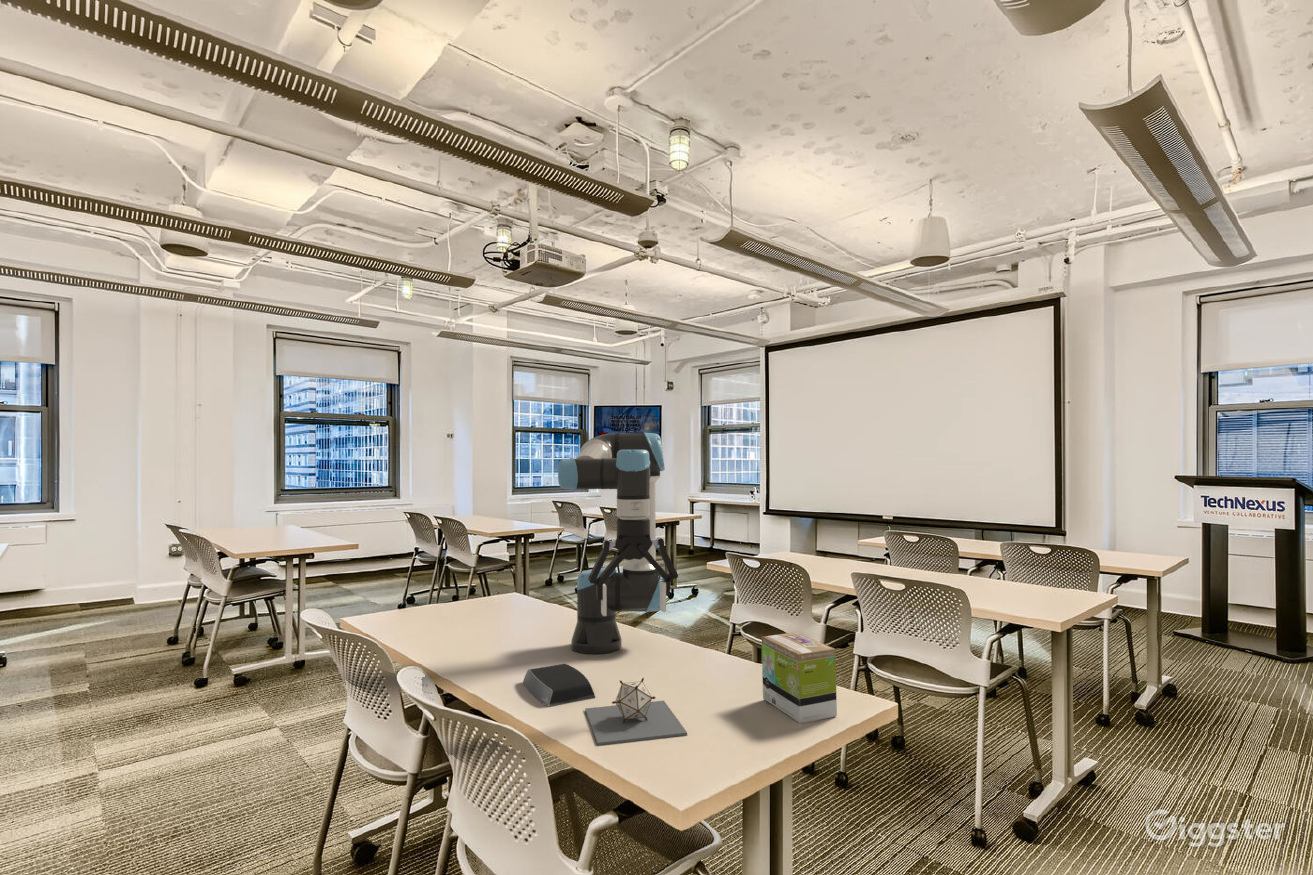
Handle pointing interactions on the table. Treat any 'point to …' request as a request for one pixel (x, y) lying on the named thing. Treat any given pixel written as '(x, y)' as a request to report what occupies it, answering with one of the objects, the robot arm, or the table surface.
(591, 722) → the mat
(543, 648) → the table surface
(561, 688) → the external hard drive
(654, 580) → the robot arm
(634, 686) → the game die
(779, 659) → the tea box
